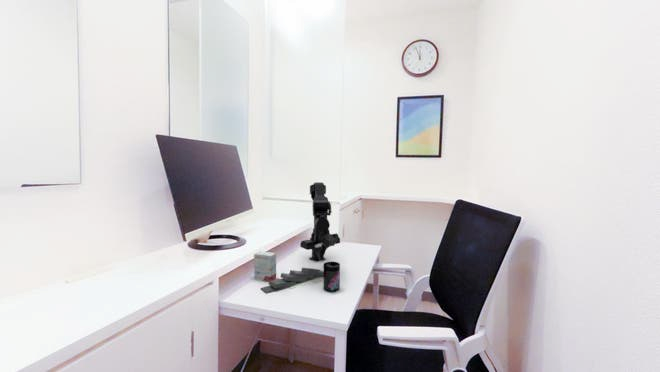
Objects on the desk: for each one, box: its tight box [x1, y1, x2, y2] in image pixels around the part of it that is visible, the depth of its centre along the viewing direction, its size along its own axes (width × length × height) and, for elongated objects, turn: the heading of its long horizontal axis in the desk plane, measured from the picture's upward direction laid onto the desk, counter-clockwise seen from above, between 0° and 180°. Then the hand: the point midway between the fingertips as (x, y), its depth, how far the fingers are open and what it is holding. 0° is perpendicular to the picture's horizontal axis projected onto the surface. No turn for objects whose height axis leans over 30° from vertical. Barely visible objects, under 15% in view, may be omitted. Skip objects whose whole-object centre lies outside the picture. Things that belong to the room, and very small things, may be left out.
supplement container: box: [322, 261, 341, 293], centre depth 116 cm, size 7×7×10 cm
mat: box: [288, 269, 324, 289], centre depth 127 cm, size 9×24×1 cm, turn 128°
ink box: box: [253, 250, 277, 283], centre depth 125 cm, size 9×5×12 cm, turn 71°
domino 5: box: [300, 266, 324, 276], centre depth 128 cm, size 5×2×10 cm
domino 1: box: [260, 285, 290, 295], centre depth 116 cm, size 5×2×10 cm
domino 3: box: [280, 272, 307, 282], centre depth 121 cm, size 5×2×10 cm
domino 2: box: [268, 278, 296, 288], centre depth 118 cm, size 5×2×10 cm
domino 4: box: [288, 269, 315, 279], centre depth 124 cm, size 5×2×10 cm
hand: (320, 260), depth 130 cm, fingers closed
